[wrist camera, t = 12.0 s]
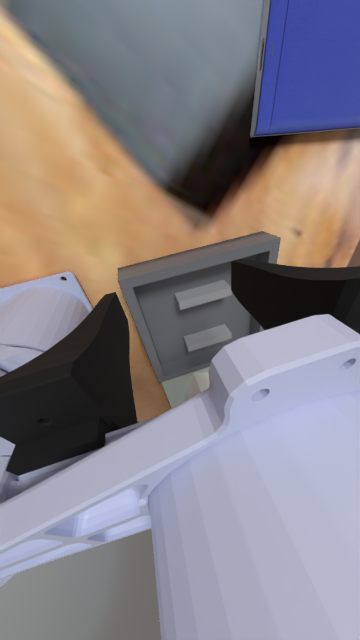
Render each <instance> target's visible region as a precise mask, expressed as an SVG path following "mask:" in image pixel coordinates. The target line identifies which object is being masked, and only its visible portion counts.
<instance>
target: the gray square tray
mask: <svg viewBox="0 0 360 640" xmlns="http://www.w3.org/2000/svg"><path fill="white" fill-rule="evenodd" d="M280 239H281V238H280V237H277V236H274V235H272V234H269V233H266V232H263V231H261V232H258V233H254V234H250V235H246V236H242V237H238V238H234V239H230V240H226V241H223V242H219V243H215V244H211V245H207V246H203V247H199V248H195V249H191V250H188V251H184V252H180V253H176V254H172V255H168V256H164V257H160V258H156V259H153V260H149V261H145V262H141V263H137V264H133V265H129V266H125V267H122V268H118V282H119V285H120V287H121V290H122V292H123V295H124V297H125V300H126V302H127V305H128V307H129V310H130V312H131V315H132V317H133V320H134V322H135V324H136V327H137V329H138V332H139V334H140V337H141V339H142V342H143V344H144V347H145V349H146V352H147V354H148V357H149V359H150V362H151V364H152V367H153V369H154V372H155V374H156V377H157V379H158V382H159V383H161V382H164V381H167V380H170V379H173V378H176V377H180V376H183V375H186V374H189V373H192V372H195V371H198V370H201V369H204V368H207V367H210V364H211V360H212V359H213V357H214V356H215V355H216V354H217V353H218V352H219V351H220V350H221V349H222V348H223V347H224V346H225V345H227V344H229V343H231V342H233V341H235V340H237V339H239V338H242V337H245V336H248V335H251V334H255V333H258V332H261V331H264V329H263V328H262V326H261V325H260V324H259V323H258V322H257V321H256V320H255V319H254V318H253V317H252V315H251V314H250V313H249V312H248V311H247V310H246V309H245V308H244V307H243V306H242V305H241V304H240V303H239V301H238V300H237V299H236V297H235V296H234V294H233V292H232V291H231V261H234V260H238V259H250V260H256V261H261V262H267V263H272V264H277V258H278V251H279V245H280Z"/></svg>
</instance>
